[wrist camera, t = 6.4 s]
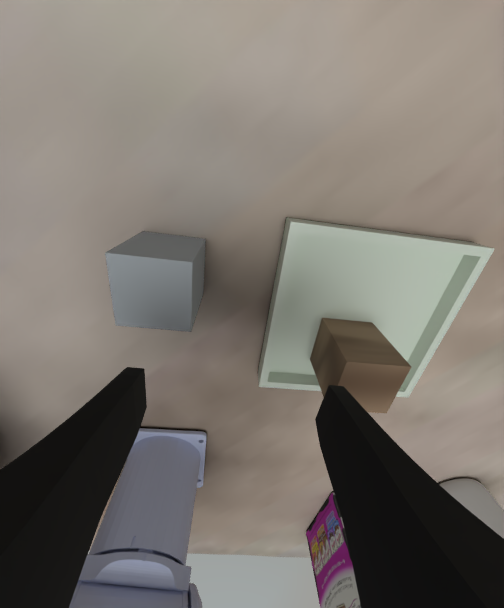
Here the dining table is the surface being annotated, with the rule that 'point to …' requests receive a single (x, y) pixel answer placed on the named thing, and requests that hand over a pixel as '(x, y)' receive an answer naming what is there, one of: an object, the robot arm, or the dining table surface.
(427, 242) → the tray
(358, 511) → the robot arm
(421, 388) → the dining table surface
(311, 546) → the candy bar box
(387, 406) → the walnut block
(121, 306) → the grey block
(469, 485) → the milk bottle
